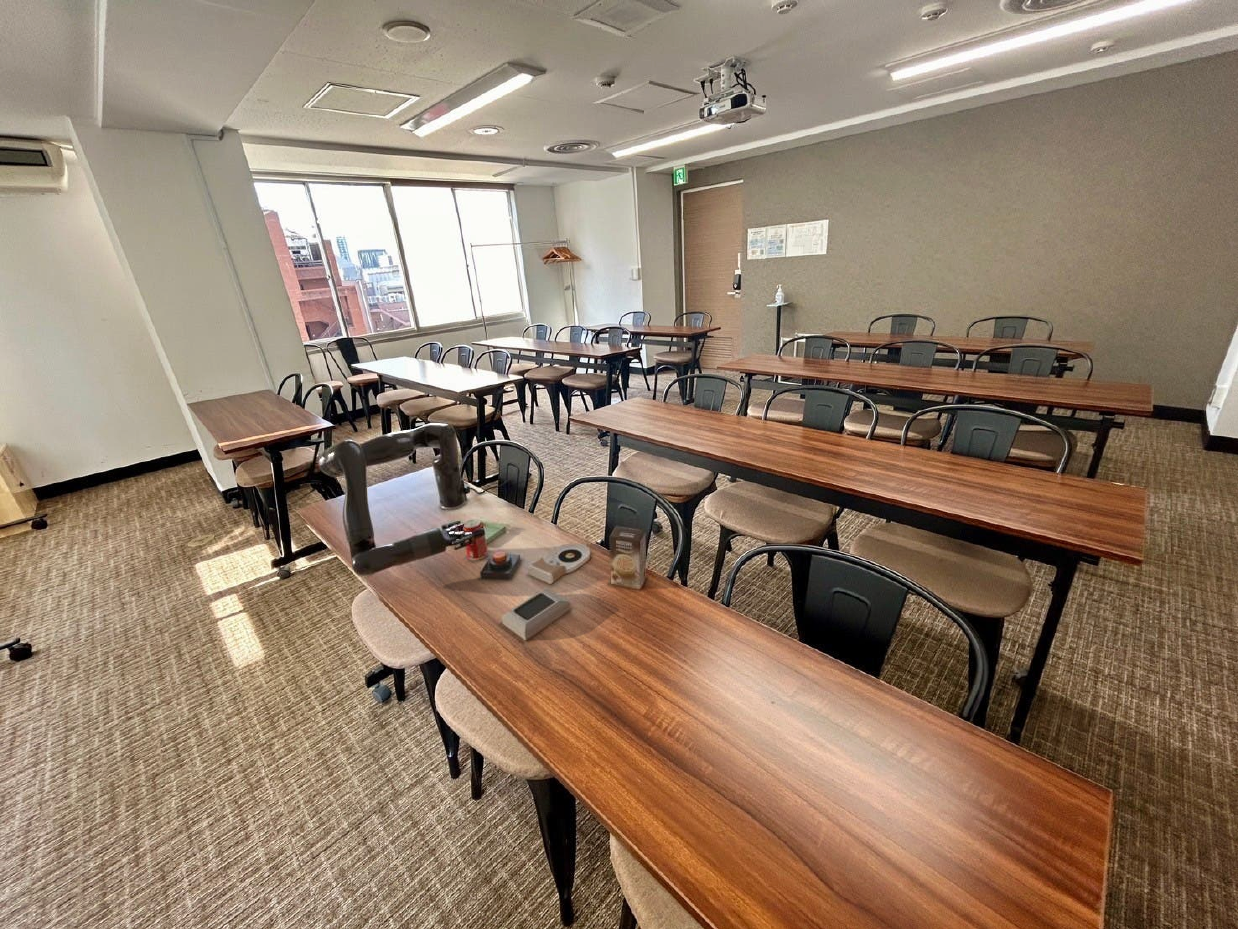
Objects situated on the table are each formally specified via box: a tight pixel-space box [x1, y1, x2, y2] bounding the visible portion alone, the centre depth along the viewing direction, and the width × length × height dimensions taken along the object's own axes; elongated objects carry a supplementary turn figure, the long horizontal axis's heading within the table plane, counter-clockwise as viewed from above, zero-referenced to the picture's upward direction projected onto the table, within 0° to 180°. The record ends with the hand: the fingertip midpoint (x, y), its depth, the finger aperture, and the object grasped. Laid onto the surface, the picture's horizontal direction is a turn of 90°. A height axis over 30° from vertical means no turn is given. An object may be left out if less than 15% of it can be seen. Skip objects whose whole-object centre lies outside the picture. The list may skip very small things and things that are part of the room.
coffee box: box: [609, 525, 647, 590], centre depth 136 cm, size 9×6×16 cm
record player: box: [527, 542, 591, 585], centre depth 148 cm, size 12×3×20 cm
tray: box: [476, 518, 507, 545], centre depth 166 cm, size 13×13×2 cm
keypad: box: [501, 587, 571, 641], centre depth 125 cm, size 10×4×15 cm
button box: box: [479, 552, 521, 581], centre depth 146 cm, size 10×9×4 cm
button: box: [493, 551, 506, 562], centre depth 145 cm, size 4×4×2 cm
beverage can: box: [463, 518, 488, 561], centre depth 152 cm, size 6×6×12 cm
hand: (480, 527), depth 152 cm, fingers closed on beverage can, 6 cm apart
